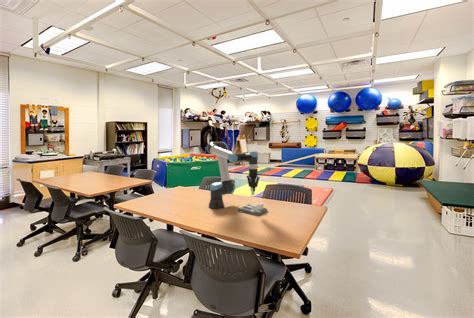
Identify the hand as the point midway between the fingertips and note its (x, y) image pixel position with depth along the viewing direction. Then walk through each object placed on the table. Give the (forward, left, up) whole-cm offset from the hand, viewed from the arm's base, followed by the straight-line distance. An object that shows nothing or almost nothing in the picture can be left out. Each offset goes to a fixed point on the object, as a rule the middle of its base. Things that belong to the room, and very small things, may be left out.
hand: (252, 194), depth 220 cm
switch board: (-2, +3, -17) cm, 17 cm away
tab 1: (+2, 0, -14) cm, 14 cm away
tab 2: (+4, +7, -14) cm, 16 cm away
